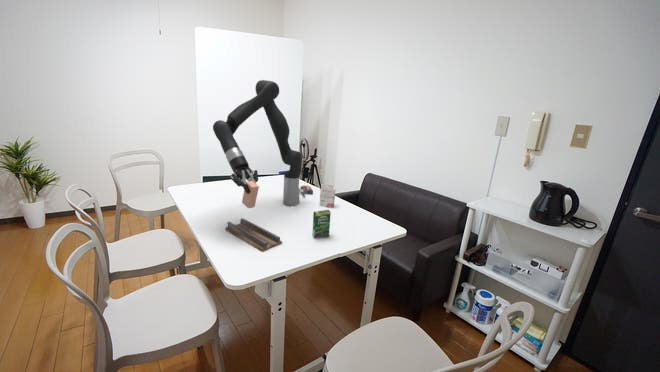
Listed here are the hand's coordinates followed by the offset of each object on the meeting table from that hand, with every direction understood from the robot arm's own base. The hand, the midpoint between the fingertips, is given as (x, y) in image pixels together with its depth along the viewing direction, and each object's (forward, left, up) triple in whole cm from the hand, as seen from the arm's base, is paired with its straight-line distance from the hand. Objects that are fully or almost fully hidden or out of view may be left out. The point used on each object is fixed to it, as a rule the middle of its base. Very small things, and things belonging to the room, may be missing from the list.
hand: (252, 191), depth 129 cm
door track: (0, 0, -22) cm, 22 cm away
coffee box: (-24, +21, -22) cm, 39 cm away
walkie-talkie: (-67, -29, -22) cm, 76 cm away
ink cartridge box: (-59, -4, -22) cm, 63 cm away
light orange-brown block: (0, -3, -7) cm, 8 cm away
